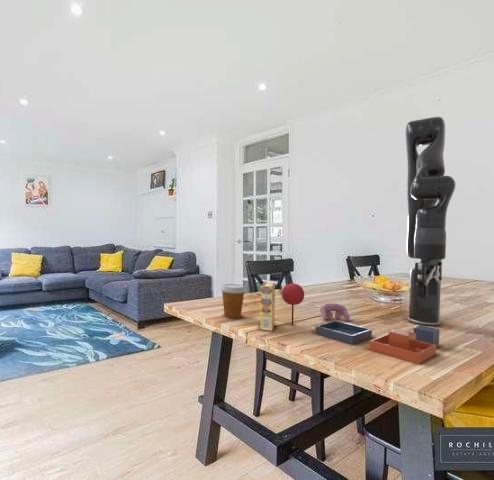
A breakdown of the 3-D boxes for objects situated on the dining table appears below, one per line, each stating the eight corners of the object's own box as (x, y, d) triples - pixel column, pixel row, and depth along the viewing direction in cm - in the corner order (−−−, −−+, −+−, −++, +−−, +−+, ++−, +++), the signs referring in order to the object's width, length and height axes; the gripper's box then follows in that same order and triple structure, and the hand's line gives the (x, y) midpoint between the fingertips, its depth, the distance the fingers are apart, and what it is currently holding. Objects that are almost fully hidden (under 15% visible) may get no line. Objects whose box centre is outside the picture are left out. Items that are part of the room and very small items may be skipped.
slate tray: (335, 327, 116) (335, 320, 116) (371, 337, 106) (372, 329, 106) (315, 333, 109) (315, 325, 109) (352, 344, 99) (352, 335, 99)
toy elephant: (346, 322, 128) (343, 305, 131) (351, 320, 124) (348, 302, 127) (320, 321, 129) (318, 304, 132) (324, 319, 125) (321, 301, 128)
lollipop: (303, 323, 121) (304, 282, 121) (303, 329, 114) (305, 285, 113) (281, 321, 124) (282, 281, 123) (280, 326, 116) (281, 284, 116)
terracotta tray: (388, 341, 102) (388, 333, 102) (436, 354, 92) (436, 345, 92) (369, 349, 95) (369, 340, 95) (418, 363, 85) (419, 354, 85)
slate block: (419, 340, 103) (420, 325, 103) (438, 345, 99) (439, 329, 99) (412, 343, 101) (413, 327, 100) (432, 348, 96) (433, 332, 96)
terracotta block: (395, 345, 97) (396, 328, 97) (415, 350, 93) (416, 333, 93) (388, 348, 94) (388, 331, 94) (408, 354, 90) (409, 336, 90)
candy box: (272, 331, 111) (273, 286, 110) (259, 329, 112) (260, 285, 112) (274, 324, 119) (275, 282, 118) (262, 323, 120) (263, 281, 120)
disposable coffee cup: (218, 313, 134) (218, 283, 133) (241, 313, 135) (241, 283, 134) (223, 319, 124) (224, 288, 124) (248, 319, 125) (248, 288, 125)
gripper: (436, 243, 92) (433, 301, 92) (453, 243, 100) (451, 296, 100) (405, 242, 98) (403, 296, 98) (424, 242, 106) (422, 292, 107)
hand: (427, 296), depth 99 cm, fingers open, 8 cm apart
